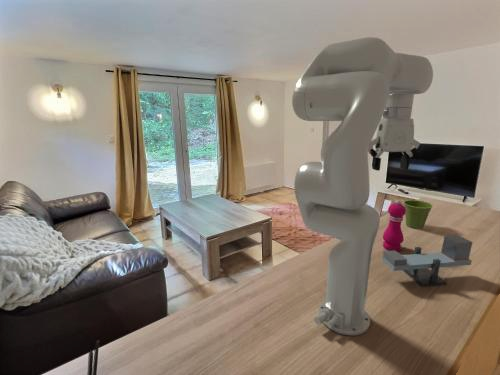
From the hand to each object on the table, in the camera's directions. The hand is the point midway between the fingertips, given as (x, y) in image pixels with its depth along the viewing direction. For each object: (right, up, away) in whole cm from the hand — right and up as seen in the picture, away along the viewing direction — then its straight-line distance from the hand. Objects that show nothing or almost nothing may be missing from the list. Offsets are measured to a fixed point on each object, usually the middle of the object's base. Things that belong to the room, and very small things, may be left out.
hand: (389, 169), depth 85 cm
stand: (+11, -35, +1) cm, 37 cm away
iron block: (+21, -28, 0) cm, 35 cm away
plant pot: (+33, -24, +41) cm, 58 cm away
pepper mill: (+11, -30, +20) cm, 38 cm away
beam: (+11, -29, -1) cm, 31 cm away
